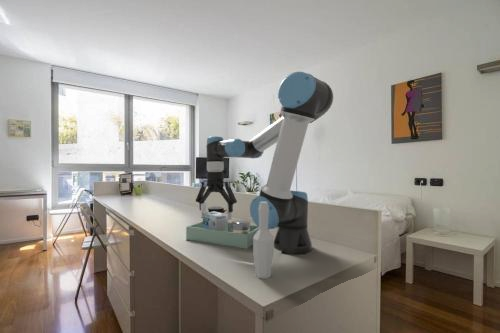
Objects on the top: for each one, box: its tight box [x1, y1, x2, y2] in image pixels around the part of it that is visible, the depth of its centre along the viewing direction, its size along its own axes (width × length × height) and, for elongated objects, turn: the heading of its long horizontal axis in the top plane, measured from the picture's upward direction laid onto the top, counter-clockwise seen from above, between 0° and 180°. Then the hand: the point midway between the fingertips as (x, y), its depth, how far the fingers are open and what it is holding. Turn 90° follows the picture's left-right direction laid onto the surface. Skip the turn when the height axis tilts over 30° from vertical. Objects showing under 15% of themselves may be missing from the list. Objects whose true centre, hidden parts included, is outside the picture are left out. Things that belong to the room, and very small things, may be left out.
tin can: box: [230, 219, 251, 234], centre depth 109 cm, size 8×8×8 cm
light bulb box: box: [202, 211, 229, 232], centre depth 115 cm, size 11×7×11 cm, turn 44°
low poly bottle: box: [252, 202, 275, 279], centre depth 77 cm, size 6×6×22 cm
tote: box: [185, 220, 259, 249], centre depth 113 cm, size 30×16×6 cm, turn 65°
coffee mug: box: [207, 205, 227, 214], centre depth 138 cm, size 12×9×10 cm
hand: (215, 218), depth 115 cm, fingers open, 13 cm apart
